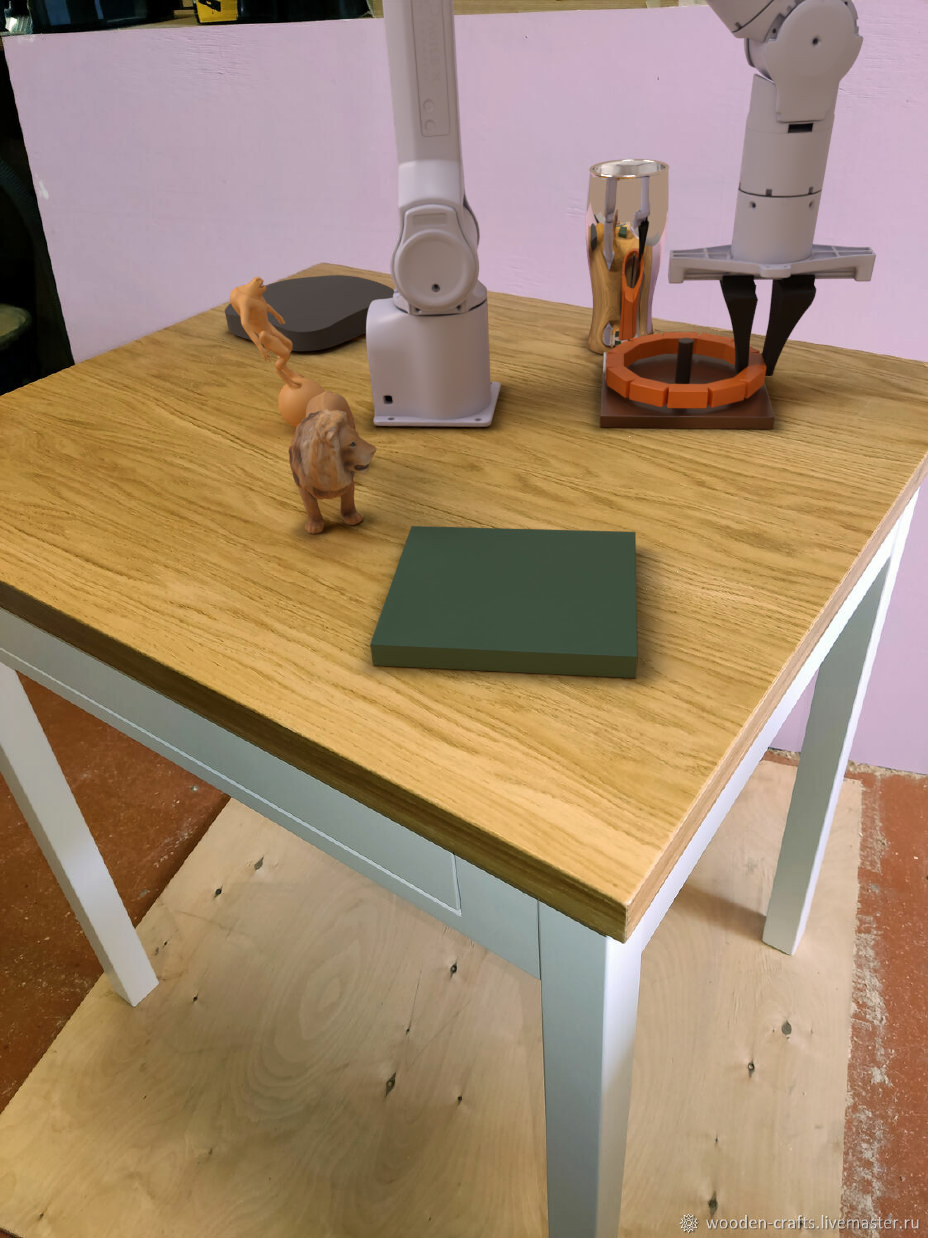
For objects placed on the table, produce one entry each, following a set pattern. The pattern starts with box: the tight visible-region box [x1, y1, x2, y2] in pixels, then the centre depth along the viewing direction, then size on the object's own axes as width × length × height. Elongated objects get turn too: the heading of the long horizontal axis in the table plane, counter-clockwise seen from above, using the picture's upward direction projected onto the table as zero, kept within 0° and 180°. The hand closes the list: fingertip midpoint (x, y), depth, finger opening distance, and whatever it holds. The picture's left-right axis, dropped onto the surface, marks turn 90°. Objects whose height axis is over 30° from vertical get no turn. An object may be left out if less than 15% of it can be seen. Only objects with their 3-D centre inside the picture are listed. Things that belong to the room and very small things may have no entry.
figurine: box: [229, 276, 326, 428], centre depth 70 cm, size 8×6×12 cm
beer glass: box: [584, 158, 670, 355], centre depth 80 cm, size 7×7×15 cm
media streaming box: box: [224, 274, 395, 352], centre depth 92 cm, size 15×15×3 cm
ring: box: [606, 331, 766, 408], centre depth 73 cm, size 12×12×1 cm
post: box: [599, 338, 776, 430], centre depth 73 cm, size 13×13×4 cm
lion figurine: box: [288, 390, 378, 535], centre depth 61 cm, size 15×5×9 cm, turn 13°
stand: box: [369, 525, 639, 679], centre depth 52 cm, size 14×12×2 cm
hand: (753, 371), depth 73 cm, fingers closed on ring, 1 cm apart
